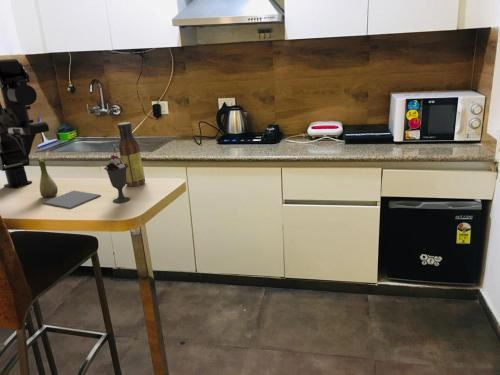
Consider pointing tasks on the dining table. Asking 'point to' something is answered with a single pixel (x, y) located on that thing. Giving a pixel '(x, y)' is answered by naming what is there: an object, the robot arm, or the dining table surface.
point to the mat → (71, 199)
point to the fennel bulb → (46, 182)
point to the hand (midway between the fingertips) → (27, 155)
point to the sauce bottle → (130, 155)
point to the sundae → (117, 176)
